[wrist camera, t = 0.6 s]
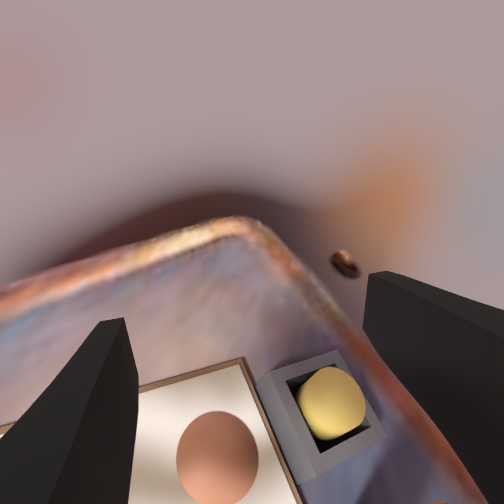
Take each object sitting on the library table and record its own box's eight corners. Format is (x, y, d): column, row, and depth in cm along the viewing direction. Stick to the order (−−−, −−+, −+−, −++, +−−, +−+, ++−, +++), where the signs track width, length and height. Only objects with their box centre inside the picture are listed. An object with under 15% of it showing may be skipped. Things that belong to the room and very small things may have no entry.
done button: (355, 428, 27) (376, 416, 25) (312, 450, 24) (332, 439, 23) (326, 375, 29) (343, 360, 27) (284, 390, 27) (300, 376, 25)
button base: (365, 446, 28) (388, 435, 26) (296, 486, 24) (316, 476, 22) (320, 364, 32) (337, 349, 30) (254, 387, 28) (268, 371, 26)
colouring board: (308, 529, 23) (314, 527, 22) (-50, 768, 13) (-56, 777, 13) (238, 361, 29) (242, 356, 28) (-38, 441, 19) (-41, 437, 19)
